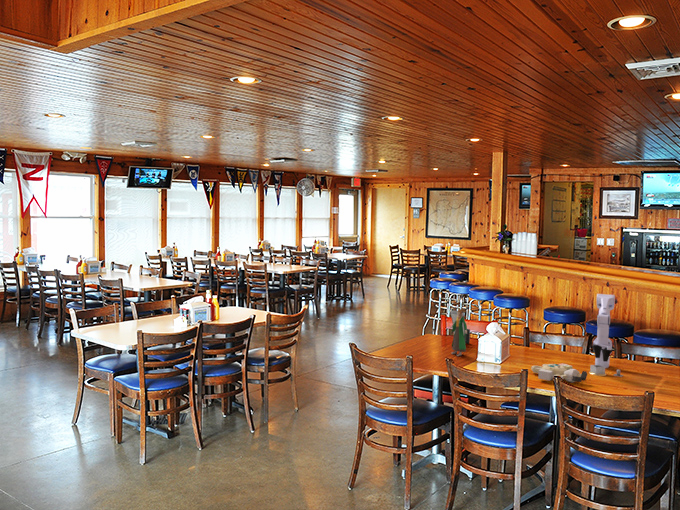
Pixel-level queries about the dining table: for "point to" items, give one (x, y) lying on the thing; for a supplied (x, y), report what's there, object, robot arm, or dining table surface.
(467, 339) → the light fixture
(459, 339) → the figurine
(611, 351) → the robot arm
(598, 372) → the collar
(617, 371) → the stand
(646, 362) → the dining table surface
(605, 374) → the hub
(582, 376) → the toy
